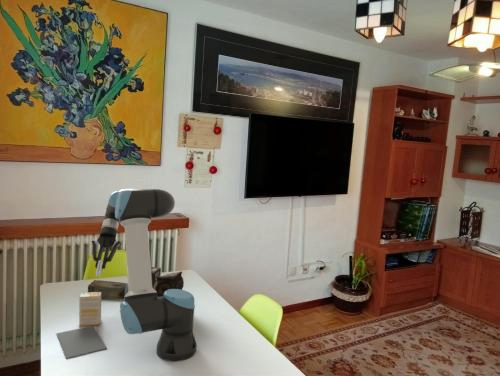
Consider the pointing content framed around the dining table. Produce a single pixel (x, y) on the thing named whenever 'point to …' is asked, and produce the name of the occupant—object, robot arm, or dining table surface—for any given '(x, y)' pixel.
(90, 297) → the supplement box
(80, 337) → the mat
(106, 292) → the beverage carton
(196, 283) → the dining table surface
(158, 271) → the coffee box
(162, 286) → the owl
